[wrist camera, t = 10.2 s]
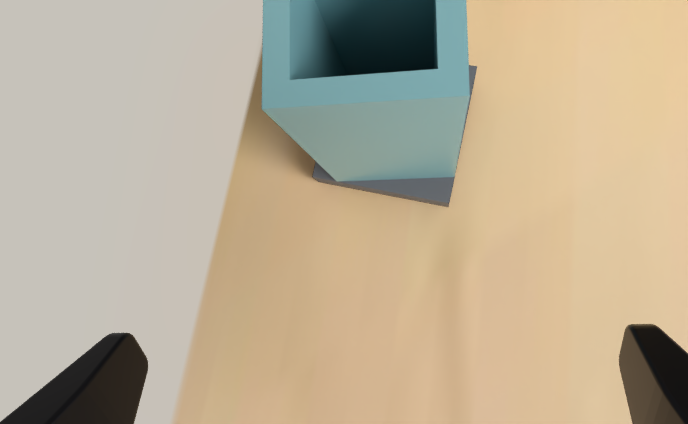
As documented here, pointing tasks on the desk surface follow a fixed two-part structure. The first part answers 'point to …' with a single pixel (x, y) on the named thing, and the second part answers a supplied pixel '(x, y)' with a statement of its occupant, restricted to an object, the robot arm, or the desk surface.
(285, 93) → the teal sleeve
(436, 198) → the dark grey square plate
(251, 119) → the desk surface
